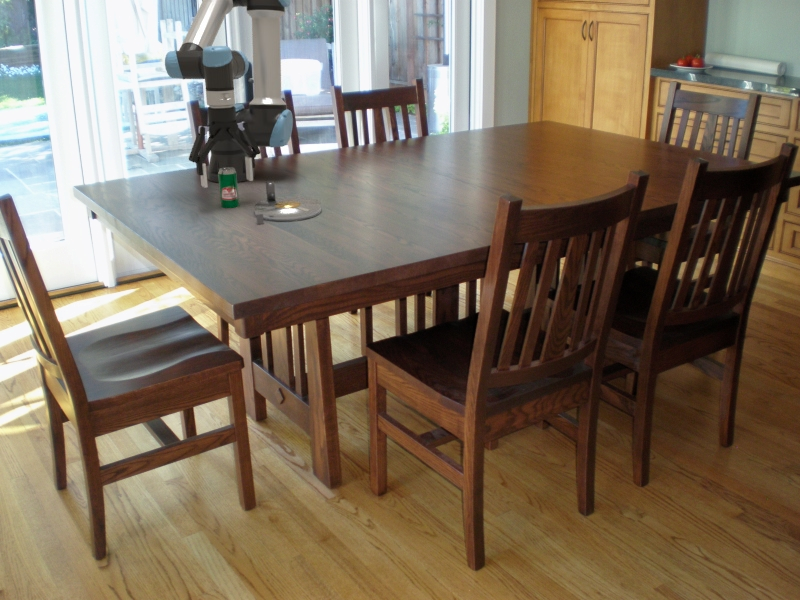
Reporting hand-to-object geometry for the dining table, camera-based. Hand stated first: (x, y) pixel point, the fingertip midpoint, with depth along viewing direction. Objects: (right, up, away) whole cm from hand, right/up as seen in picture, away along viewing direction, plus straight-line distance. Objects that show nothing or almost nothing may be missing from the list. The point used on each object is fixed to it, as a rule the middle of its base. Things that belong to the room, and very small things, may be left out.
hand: (227, 183), depth 230 cm
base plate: (+17, -10, -3) cm, 20 cm away
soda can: (0, -7, +4) cm, 8 cm away
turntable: (+17, -8, -3) cm, 20 cm away
